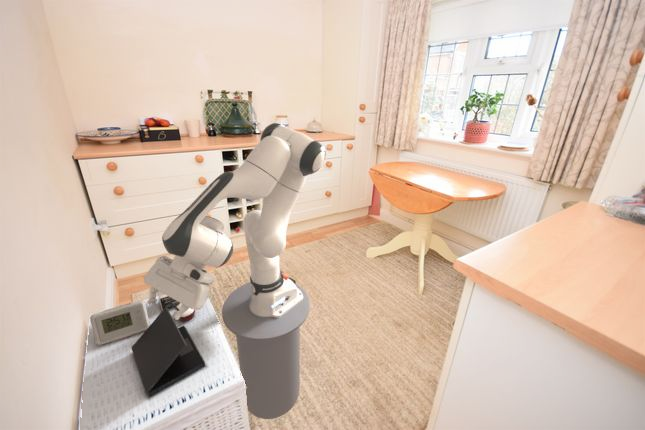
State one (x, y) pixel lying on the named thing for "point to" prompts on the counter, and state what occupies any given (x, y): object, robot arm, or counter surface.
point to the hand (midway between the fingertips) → (162, 311)
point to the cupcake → (186, 315)
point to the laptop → (180, 365)
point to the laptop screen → (157, 349)
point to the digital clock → (119, 322)
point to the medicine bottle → (166, 301)
